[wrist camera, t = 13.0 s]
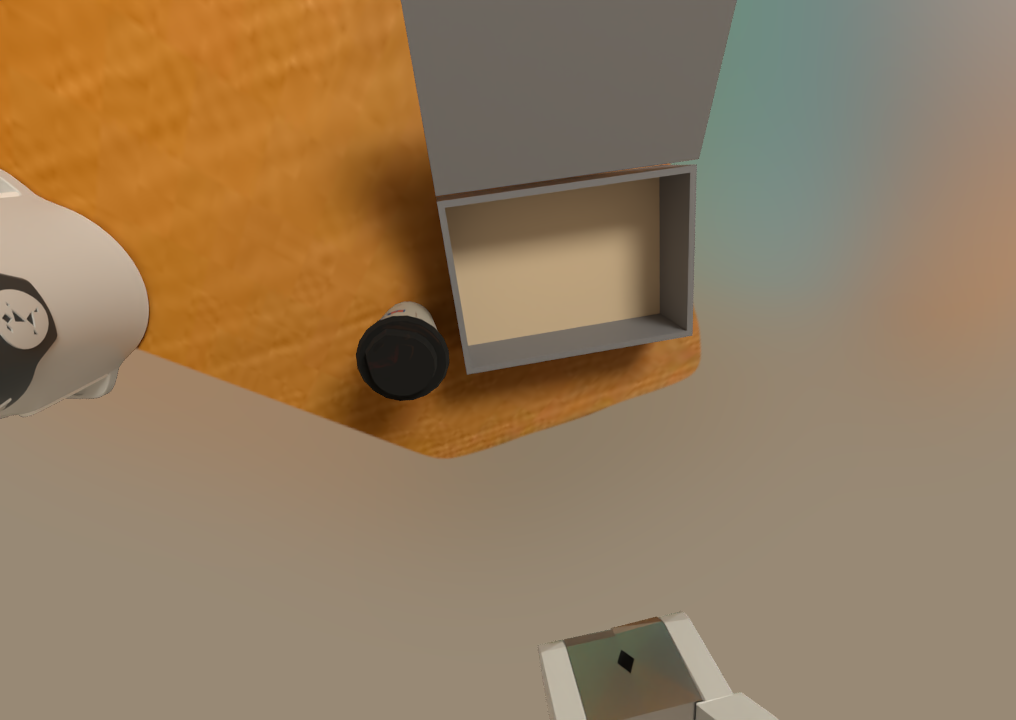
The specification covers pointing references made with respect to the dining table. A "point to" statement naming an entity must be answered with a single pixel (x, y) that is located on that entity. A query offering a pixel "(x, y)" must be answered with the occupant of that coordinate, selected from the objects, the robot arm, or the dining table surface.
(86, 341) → the robot arm
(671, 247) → the mailer box
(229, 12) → the dining table surface
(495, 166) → the mailer lid
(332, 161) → the dining table surface
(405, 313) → the coffee cup
